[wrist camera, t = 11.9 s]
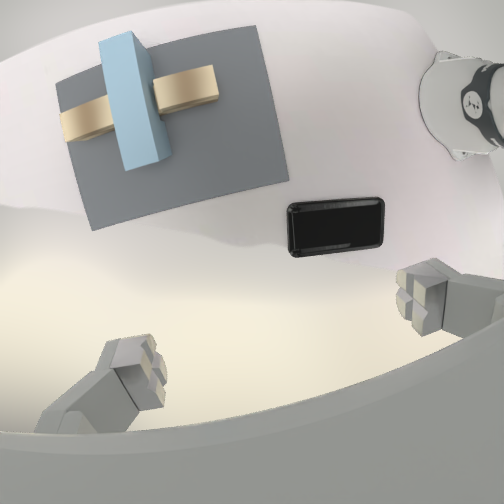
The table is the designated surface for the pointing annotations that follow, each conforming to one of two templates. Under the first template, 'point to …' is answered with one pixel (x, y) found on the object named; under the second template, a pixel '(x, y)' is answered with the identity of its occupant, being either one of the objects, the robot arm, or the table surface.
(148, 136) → the blue plate
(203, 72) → the beech rail
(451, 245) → the table surface
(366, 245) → the phone
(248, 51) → the mat
